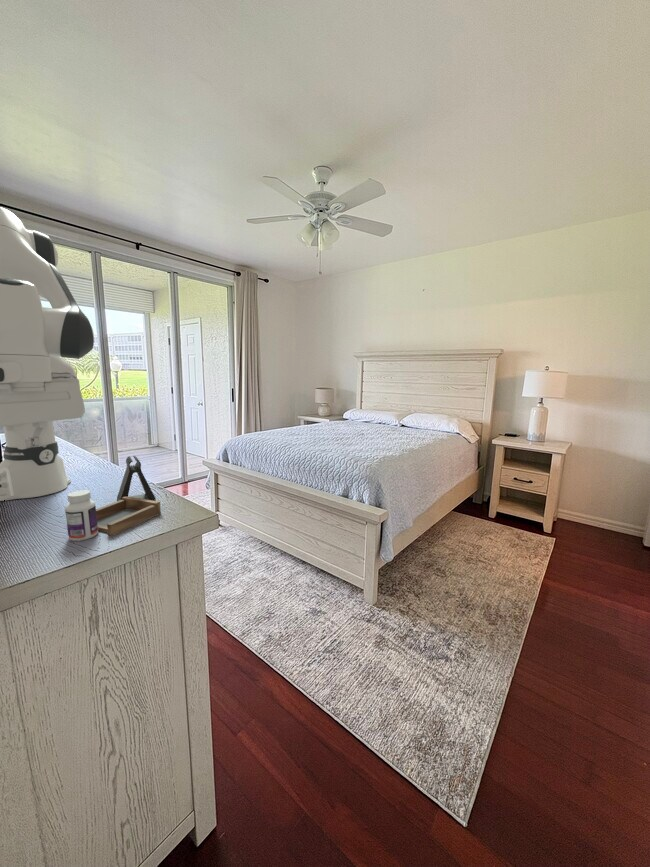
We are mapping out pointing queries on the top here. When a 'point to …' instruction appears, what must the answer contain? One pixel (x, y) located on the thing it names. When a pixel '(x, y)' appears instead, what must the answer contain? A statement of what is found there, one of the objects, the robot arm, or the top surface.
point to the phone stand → (128, 477)
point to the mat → (115, 516)
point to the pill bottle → (81, 516)
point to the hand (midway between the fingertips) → (30, 447)
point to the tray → (144, 512)
